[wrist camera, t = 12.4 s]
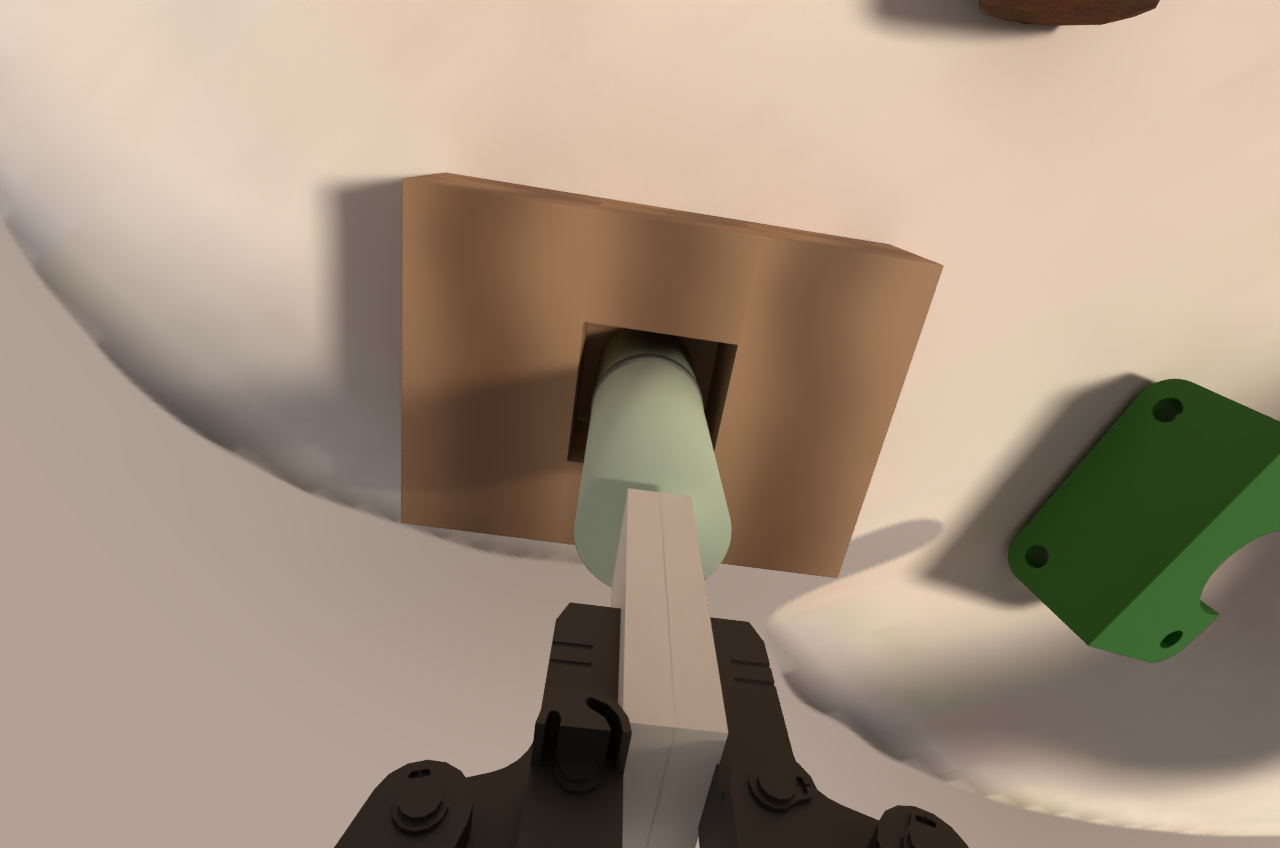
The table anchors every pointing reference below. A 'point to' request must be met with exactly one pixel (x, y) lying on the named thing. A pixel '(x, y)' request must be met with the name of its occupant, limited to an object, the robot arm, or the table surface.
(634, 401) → the peg
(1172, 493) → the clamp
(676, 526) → the robot arm
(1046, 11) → the bolt
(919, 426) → the table surface
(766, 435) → the board
